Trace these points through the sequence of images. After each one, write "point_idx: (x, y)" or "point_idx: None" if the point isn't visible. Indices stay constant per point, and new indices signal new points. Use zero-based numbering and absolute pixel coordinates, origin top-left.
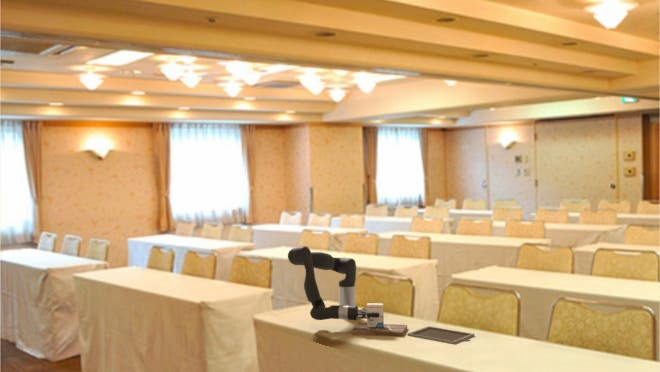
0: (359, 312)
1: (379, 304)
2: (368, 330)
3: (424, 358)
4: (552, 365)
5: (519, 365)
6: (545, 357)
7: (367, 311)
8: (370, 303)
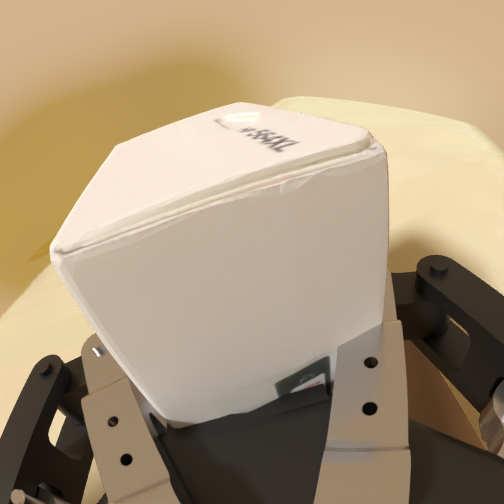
0: (485, 495)
1: (212, 114)
2: (431, 401)
3: (485, 144)
4: (356, 102)
5: (385, 106)
6: (325, 108)
7: (379, 308)
8: (102, 192)
